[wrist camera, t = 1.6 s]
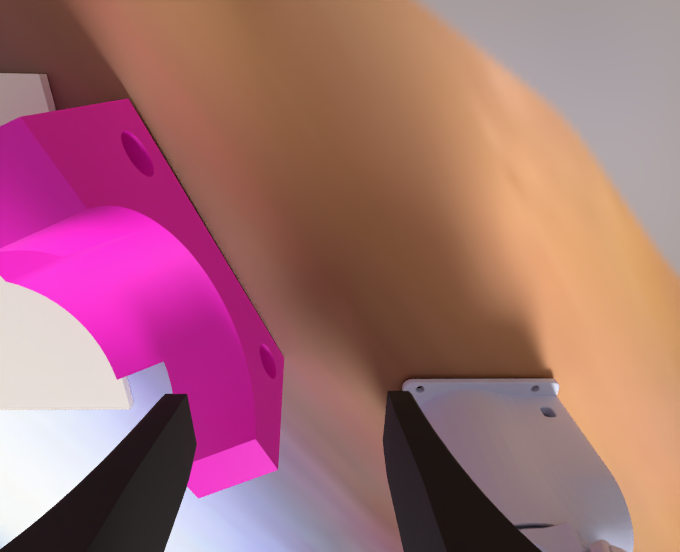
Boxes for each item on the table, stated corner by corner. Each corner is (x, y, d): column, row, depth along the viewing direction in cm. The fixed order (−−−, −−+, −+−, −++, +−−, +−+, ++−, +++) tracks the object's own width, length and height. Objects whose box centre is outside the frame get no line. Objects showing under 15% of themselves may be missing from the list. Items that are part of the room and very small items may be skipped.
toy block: (2, 157, 18) (-176, 210, 11) (128, 98, 17) (20, 117, 11) (188, 394, 25) (147, 516, 18) (284, 357, 24) (277, 469, 17)
